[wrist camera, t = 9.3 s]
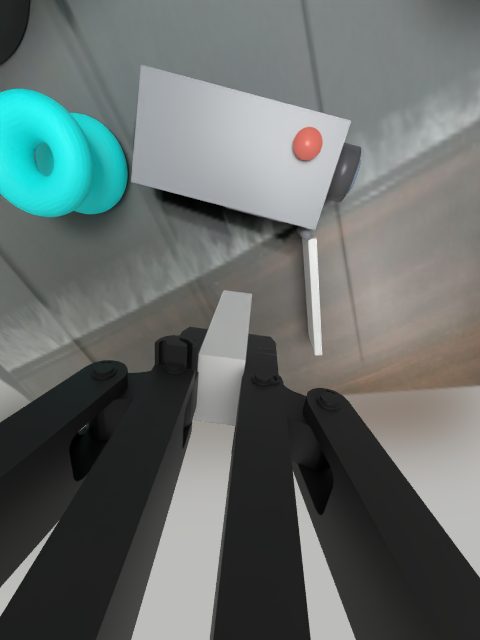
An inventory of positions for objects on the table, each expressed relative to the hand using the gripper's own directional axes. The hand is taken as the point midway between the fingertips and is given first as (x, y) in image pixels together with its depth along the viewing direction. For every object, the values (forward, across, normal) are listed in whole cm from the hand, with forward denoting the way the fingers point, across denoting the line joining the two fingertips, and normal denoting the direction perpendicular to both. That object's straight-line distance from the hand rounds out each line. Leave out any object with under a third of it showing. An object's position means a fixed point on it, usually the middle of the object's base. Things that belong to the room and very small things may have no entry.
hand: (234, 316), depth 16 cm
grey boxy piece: (+22, -1, +9) cm, 24 cm away
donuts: (+23, -20, +6) cm, 31 cm away
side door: (+21, +8, -4) cm, 23 cm away
